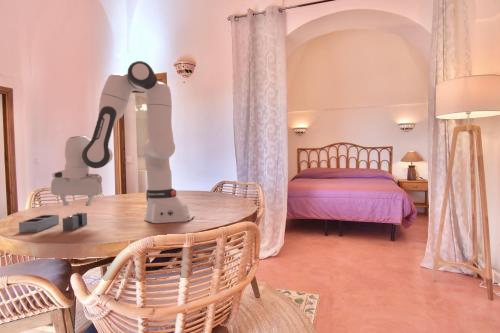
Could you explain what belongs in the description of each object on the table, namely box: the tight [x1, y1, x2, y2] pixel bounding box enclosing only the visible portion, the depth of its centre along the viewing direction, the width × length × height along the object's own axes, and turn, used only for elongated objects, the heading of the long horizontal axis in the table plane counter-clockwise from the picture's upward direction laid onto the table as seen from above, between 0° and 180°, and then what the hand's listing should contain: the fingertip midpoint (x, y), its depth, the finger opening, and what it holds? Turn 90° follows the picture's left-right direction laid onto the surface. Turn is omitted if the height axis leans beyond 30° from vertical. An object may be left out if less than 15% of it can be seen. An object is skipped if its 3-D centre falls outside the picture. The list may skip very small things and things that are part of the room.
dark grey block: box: [61, 215, 79, 232], centre depth 119 cm, size 4×4×6 cm
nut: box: [71, 211, 88, 227], centre depth 126 cm, size 4×4×6 cm
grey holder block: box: [18, 214, 60, 234], centre depth 122 cm, size 14×7×4 cm, turn 2°
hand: (77, 205), depth 126 cm, fingers open, 8 cm apart
